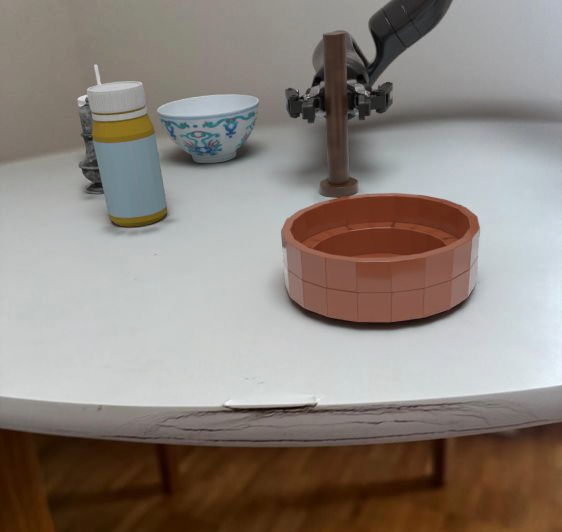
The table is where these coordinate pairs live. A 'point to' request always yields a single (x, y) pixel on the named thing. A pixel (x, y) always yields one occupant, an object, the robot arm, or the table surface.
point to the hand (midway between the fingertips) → (335, 112)
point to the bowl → (380, 256)
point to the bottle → (127, 154)
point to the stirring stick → (336, 118)
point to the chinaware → (210, 124)
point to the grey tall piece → (89, 151)
